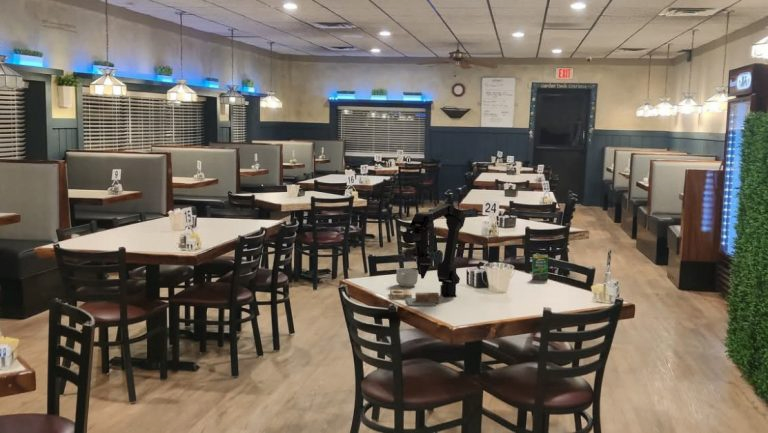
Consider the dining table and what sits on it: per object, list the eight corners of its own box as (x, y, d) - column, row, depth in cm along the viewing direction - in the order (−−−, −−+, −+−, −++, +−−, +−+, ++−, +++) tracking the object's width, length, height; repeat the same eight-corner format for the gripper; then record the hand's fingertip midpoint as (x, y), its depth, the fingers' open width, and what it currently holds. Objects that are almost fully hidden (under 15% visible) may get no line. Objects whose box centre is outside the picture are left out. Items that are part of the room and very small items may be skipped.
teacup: (402, 282, 375) (403, 266, 374) (422, 285, 369) (422, 269, 368) (388, 287, 363) (389, 271, 362) (408, 290, 357) (408, 273, 356)
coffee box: (532, 279, 387) (533, 255, 386) (531, 278, 390) (532, 254, 389) (547, 280, 387) (548, 255, 385) (546, 279, 390) (547, 254, 388)
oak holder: (409, 294, 349) (409, 289, 349) (411, 298, 339) (411, 294, 339) (390, 293, 349) (390, 289, 348) (391, 298, 339) (391, 294, 338)
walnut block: (437, 292, 334) (415, 292, 333) (439, 294, 330) (416, 294, 329) (437, 300, 334) (415, 300, 333) (438, 302, 331) (416, 302, 330)
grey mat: (432, 299, 338) (432, 298, 338) (435, 306, 326) (435, 304, 326) (405, 299, 337) (405, 298, 337) (408, 306, 325) (408, 304, 325)
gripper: (401, 238, 337) (400, 272, 339) (405, 244, 319) (405, 280, 320) (426, 238, 338) (425, 272, 340) (431, 244, 319) (430, 280, 321)
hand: (421, 276), depth 330 cm, fingers open, 9 cm apart
